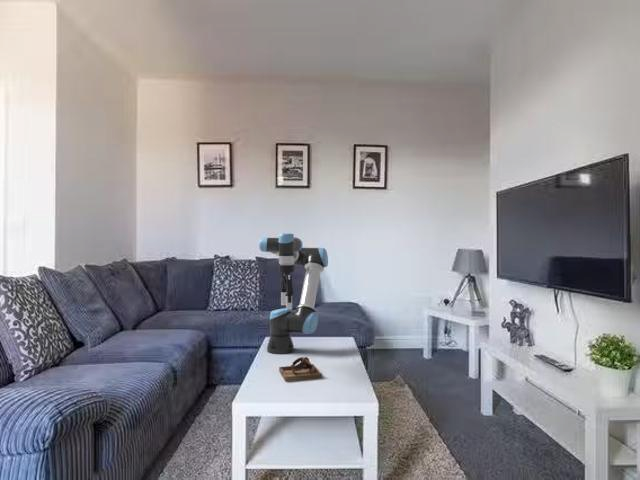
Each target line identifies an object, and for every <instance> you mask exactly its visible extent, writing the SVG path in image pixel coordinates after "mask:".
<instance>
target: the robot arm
mask: <svg viewBox="0 0 640 480" xmlns="http://www.w3.org/2000/svg"><path fill="white" fill-rule="evenodd" d="M258 246H259V250H260V252H264V253H271V254H273V255H275V256H278V258H277V260H278V264H279V265H278V272H279V273H280V274H281V275H280V276H281V278H280V289H279V290H280V293H281V294H280V296H281V297H280V302H281V303H280V305H281V306H285V308H284V307H283V308H279V309H273V310H272V311H270V313H269V339H268V342H267V346H266V352H267V353H269V354H276V355H277V354H278V355H281V354H289V353H292V352H294V351H295V345H294V342H293V339H292V333H293V334H304V335H305V334H306V335H307V334H308V335H309V334H311V335H312V334H313V333H314V332H315V331H316V329H317V327H318V324H319V314H318V313H317V310H316V309H315V305H316V299H317V293H318V288H319V283H320V276H321V273H323V272H324V269H325V268H327V267H328V266H329V257H328V251H327V249H326V248H324V247H303V241H302V240H301V239H300V238H299V237H297V236H295V234H294V233H279V235H278V237H262V238H261V239H260V240H259V243H258ZM295 266H298V267H304V269H305V274H304V279H303V285H302V290H301V294H300V300H299V304H298V305H297V306H296V307H295V310H294V311H292V310H293V295H294V289H293V281H292V280H293V279H292V277H293V276H292V274H291V273H294V272H295Z"/></svg>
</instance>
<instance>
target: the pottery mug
mask: <svg viewBox="0 0 640 480" xmlns="http://www.w3.org/2000/svg"><path fill="white" fill-rule="evenodd" d="M311 364H312V363H311V361H310V359H309V358H308V357H307V356H305V357H303V356H301V357H298V358H296V359H295V360H294V361H292V364H290V366H291V367H292V372H293V373H294V372H295V371H301V367H304V369H308V368H309V371H310V372H311V374H313V373H314V372H313V368H312V365H311Z"/></svg>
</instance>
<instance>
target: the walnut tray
mask: <svg viewBox="0 0 640 480" xmlns="http://www.w3.org/2000/svg"><path fill="white" fill-rule="evenodd" d="M311 365H312V368H313V372H314V373H313V374H311V372H310V371H309V368H308V369H304V367H301V371H295V372H294V373H293V372H292V367H291V365H287V366H279V367H278V372H279V373H280V375H281V377H282V378H283V380H284V382H285V383H288V382H299V381H308V380H309V381H310V380H319V379H323V374H322V372H321V371H320V370H319V369H318V368H317V367H316V365H315V364H313V363H311Z"/></svg>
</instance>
